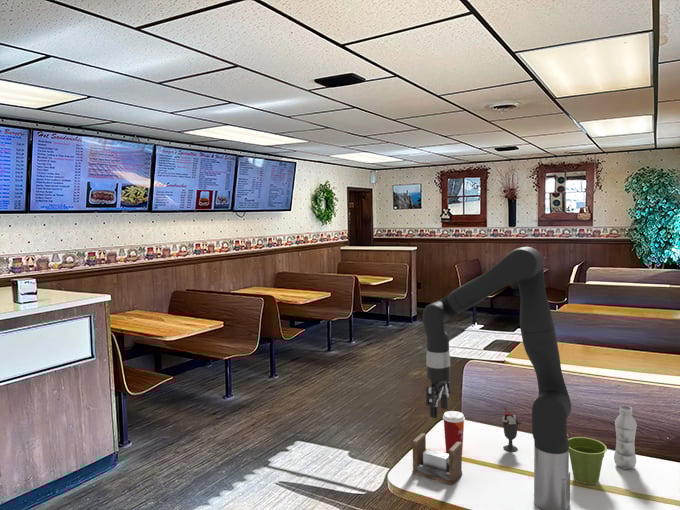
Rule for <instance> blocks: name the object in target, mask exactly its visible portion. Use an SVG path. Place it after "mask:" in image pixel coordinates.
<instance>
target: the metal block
mask: <svg viewBox="0 0 680 510" xmlns="http://www.w3.org/2000/svg"><path fill="white" fill-rule="evenodd" d="M423 465H424V466H427V467H431V468H435V469H438V470H442V471H446V472H449V454H447V453H446V452H443V451H439V450H435V449H431V448H426V451H425V452H424V453H423Z"/></svg>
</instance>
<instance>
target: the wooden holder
mask: <svg viewBox="0 0 680 510" xmlns="http://www.w3.org/2000/svg"><path fill="white" fill-rule="evenodd" d="M426 435H427V433H423V432H421V433H420V434H419V435H418V436H416V437H415V438H414V439H413V440H412V470H411V473H412V475H416V476H418V477H422V478H425V479H429V480H433V481H436V482H439V483H442V484H447V485H449V486H454V485H455V484H456V483H457V482H458V480H459V479H460V478H461V477H462V476H463V470H462V468H463V467H462V466H463V465H462V464H463V462H462V459H463V458H462V455H463V449H462V446H461V442H458V441H457V442H456V443H455V444H454V445H453V446H452V447H451V448H450V449H449V472H446V471H442V470H438V469H435V468H431V467H427V466H424V465H423V453H424V452H425V451H426V450H427V445H426V443H427V442H426V440H427V439H426Z"/></svg>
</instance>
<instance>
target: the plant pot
mask: <svg viewBox="0 0 680 510" xmlns="http://www.w3.org/2000/svg"><path fill="white" fill-rule="evenodd" d="M568 440H569V461H570V465H571V471H572V476H573V479H574V480H575V481H576V482H578V483H581V484H587V485H590V486H591V485H596V484H598V483H599V480H600V476H601V471H602V464H603V461H604V456H605V453H606V452H607V451H608V448H607V447H608V446H607V445H606V444H605V443H603V442H602V441H600V440H598V439H595V438H589V437H584V436H576V437H570V438H568Z"/></svg>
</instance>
